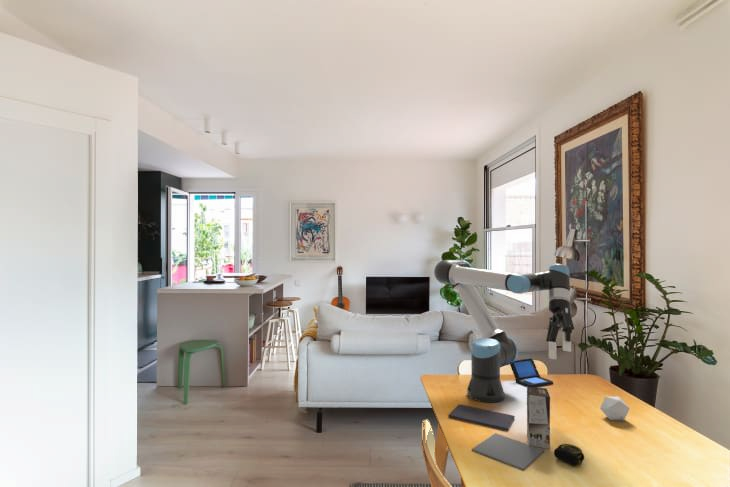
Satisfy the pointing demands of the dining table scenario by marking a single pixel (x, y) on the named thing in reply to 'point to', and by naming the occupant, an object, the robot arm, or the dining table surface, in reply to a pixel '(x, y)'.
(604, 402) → the die
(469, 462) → the dining table surface
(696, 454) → the dining table surface
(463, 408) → the notebook
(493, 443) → the mat
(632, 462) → the dining table surface
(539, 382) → the handheld game console
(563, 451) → the tape measure
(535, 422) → the coffee box
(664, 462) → the dining table surface
